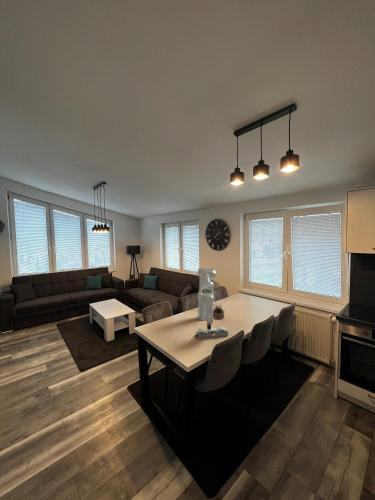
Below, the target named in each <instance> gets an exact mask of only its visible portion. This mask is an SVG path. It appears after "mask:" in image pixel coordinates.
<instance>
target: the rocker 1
mask: <svg viewBox="0 0 375 500" xmlns="http://www.w3.org/2000/svg"><path fill="white" fill-rule="evenodd" d="M207 330H208V329H205V328H204V329H203V328H201V327H198V331H200V332H204V333H208V331H207Z"/></svg>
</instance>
